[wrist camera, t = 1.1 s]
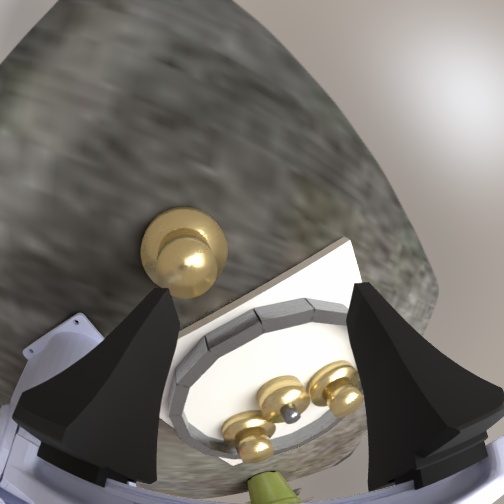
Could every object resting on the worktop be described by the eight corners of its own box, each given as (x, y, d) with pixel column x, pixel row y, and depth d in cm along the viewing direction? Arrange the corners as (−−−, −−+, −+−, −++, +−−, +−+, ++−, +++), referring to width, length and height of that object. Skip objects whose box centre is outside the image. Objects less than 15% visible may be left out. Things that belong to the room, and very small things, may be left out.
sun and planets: (236, 443, 28) (245, 472, 24) (198, 414, 24) (205, 448, 20) (355, 378, 29) (375, 402, 25) (342, 336, 26) (367, 362, 22)
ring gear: (235, 462, 30) (239, 473, 28) (120, 376, 21) (119, 392, 19) (377, 384, 32) (385, 393, 30) (345, 252, 23) (358, 260, 21)
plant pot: (293, 474, 39) (310, 508, 31) (247, 490, 37) (260, 525, 29) (282, 460, 35) (302, 500, 27) (229, 478, 33) (243, 519, 26)
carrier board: (231, 460, 31) (233, 465, 30) (110, 366, 21) (108, 374, 20) (378, 379, 33) (382, 383, 32) (343, 236, 23) (350, 239, 22)
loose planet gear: (170, 297, 21) (171, 330, 17) (127, 233, 18) (116, 254, 14) (236, 259, 21) (253, 285, 17) (199, 190, 19) (207, 200, 15)
